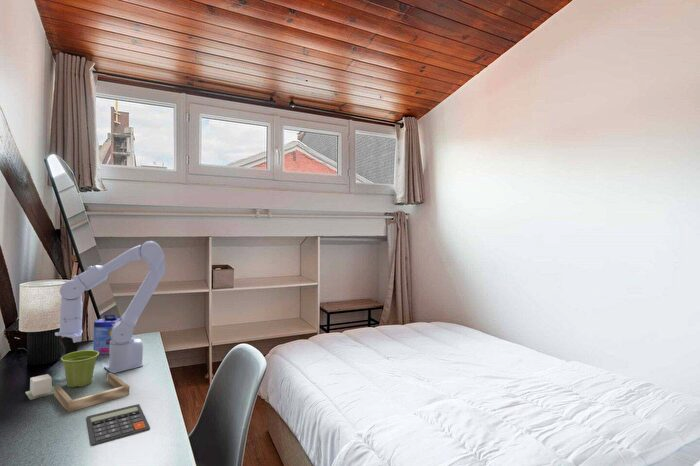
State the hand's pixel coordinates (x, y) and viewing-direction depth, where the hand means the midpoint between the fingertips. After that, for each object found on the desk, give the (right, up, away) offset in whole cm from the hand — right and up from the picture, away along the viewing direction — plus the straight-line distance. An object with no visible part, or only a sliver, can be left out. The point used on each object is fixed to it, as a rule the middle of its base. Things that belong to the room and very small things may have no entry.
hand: (69, 359), depth 119 cm
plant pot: (+8, -5, -6) cm, 11 cm away
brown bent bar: (+12, -5, -13) cm, 18 cm away
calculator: (+33, -7, -28) cm, 43 cm away
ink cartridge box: (-1, -5, +22) cm, 23 cm away
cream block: (+2, -5, -13) cm, 14 cm away
